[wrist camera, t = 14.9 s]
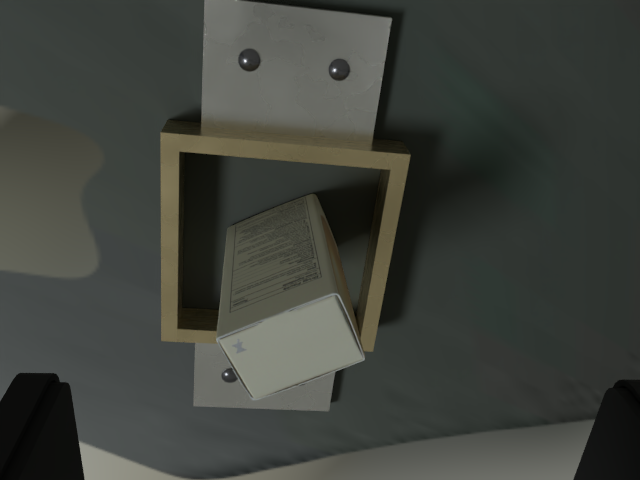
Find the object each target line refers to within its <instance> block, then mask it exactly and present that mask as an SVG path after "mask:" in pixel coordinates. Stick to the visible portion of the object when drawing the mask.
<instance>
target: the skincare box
mask: <svg viewBox="0 0 640 480" xmlns="http://www.w3.org/2000/svg"><path fill="white" fill-rule="evenodd" d="M216 341H217V343H218V344H219V346H220V348H221V350H222V352H223V353H224V355H225V357H226V358H227V360H228V362H229V364H230V366H231V367H232V369H233V371H234V373H235V374H236V376H237V378H238V379H239V381H240V383H241V384H242V386H243V387H244V389H245V390H246V391H247V393H248V395H249V396H250V398H251V399H252V400H254V401H255V400H259V399H262V398H265V397H268V396H271V395H274V394H277V393H280V392H283V391H286V390H289V389H291V388H294V387H297V386H299V385H302V384H305V383H308V382H310V381H313V380H315V379H318V378H321V377H323V376H326V375H328V374H331V373H334V372H336V371H339V370H341V369H343V368H346V367H349V366H351V365H353V364H356V363H358V362H361V361H364V360H365V354H364V350H363V347H362V343H361V339H360V335H359V331H358V327H357V323H356V319H355V315H354V311H353V307H352V303H351V299H350V295H349V291H348V288H347V284H346V280H345V276H344V272H343V268H342V264H341V260H340V256H339V252H338V248H337V245H336V242H335V239H334V237H333V234H332V232H331V229H330V227H329V224H328V222H327V219H326V217H325V214H324V212H323V209H322V207H321V205H320V203H319V200H318V198H317V196H316V195H315V194H309V195H307V196H304V197H301V198H298V199H296V200H293V201H290V202H288V203H285V204H283V205H280V206H278V207H275V208H273V209H270V210H268V211H265V212H263V213H260V214H258V215H256V216H253V217H251V218H248V219H246V220H244V221H242V222H239V223H237V224H235V225H232V226H230V227H228V229H227V239H226V248H225V258H224V268H223V278H222V287H221V297H220V307H219V316H218V326H217V335H216Z"/></svg>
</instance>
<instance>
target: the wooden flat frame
mask: <svg viewBox="0 0 640 480" xmlns="http://www.w3.org/2000/svg"><path fill="white" fill-rule="evenodd" d="M391 21H392V18H391V17H390V16H382V15H374V14H365V13H356V12H348V11H339V10H331V9H322V8H314V7H305V6H296V5H288V4H279V3H271V2H262V1H253V0H205V5H204V42H203V79H202V115H201V123H198V122H188V121H177V120H167V122H166V124H165V126H164V127H163V129H162V131H161V341H171V342H191V343H195V371H194V406H204V407H231V408H257V409H283V410H309V411H329V408H330V401H331V395H332V389H333V383H334V376H335V372H334V373H331V374H328V375H326V376H323V377H321V378H318V379H315V380H313V381H310V382H308V383H305V384H302V385H299V386H297V387H294V388H291V389H289V390H286V391H283V392H280V393H277V394H274V395H271V396H268V397H265V398H262V399H259V400H255V401H254V400H252V399H251V398H250V396H249V395H248V393H247V391H246V390H245V389H244V387H243V386H242V384H241V383H240V381H239V379H238V378H237V376H236V374H235V373H234V371H233V369H232V367H231V366H230V364H229V362H228V360H227V358H226V357H225V355H224V353H223V352H222V350H221V348H220V346H219V344H218V343H217V341H216V335H217V326H218V316H219V310H216V309H198V308H182V305H183V238H184V172H185V152H191V153H202V154H214V155H225V156H237V157H249V158H260V159H272V160H283V161H295V162H307V163H318V164H330V165H341V166H353V167H365V168H376V169H381V173H380V179H379V185H378V191H377V197H376V203H375V209H374V214H373V220H372V226H371V232H370V238H369V244H368V249H367V255H366V261H365V267H364V273H363V279H362V284H361V290H360V296H359V302H358V308H357V314H356V317H355V319H356V323H357V327H358V331H359V335H360V339H361V343H362V347H363V350H364V351H371V352H373V348H374V343H375V338H376V333H377V328H378V322H379V317H380V312H381V307H382V302H383V296H384V291H385V286H386V281H387V276H388V270H389V265H390V260H391V255H392V250H393V244H394V239H395V234H396V229H397V224H398V218H399V213H400V208H401V203H402V198H403V193H404V187H405V182H406V177H407V172H408V167H409V161H410V156H411V154H410V153H409V151H408V150H407V148H406V146H405V145H404V143H403V142H402V141H394V140H383V139H373V133H374V127H375V121H376V115H377V109H378V102H379V96H380V90H381V84H382V77H383V71H384V65H385V59H386V52H387V46H388V40H389V34H390V28H391Z"/></svg>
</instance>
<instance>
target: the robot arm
mask: <svg viewBox="0 0 640 480" xmlns="http://www.w3.org/2000/svg"><path fill="white" fill-rule="evenodd" d="M0 480H84V473H83V467H82V461H81V454H80V447H79V441H78V434H77V428H76V421H75V415H74V408H73V402H72V395H71V389H70V385H69V384H68V383H66V382H60V381H59V377H58V376H57V374H54V373H19V374H18V375H16V377H15V378H14V379H13V381H12V383H11V384H10V386H9V388H8V389H7V391H6V393H5V395H4V396H3V398H2V400H1V401H0ZM574 480H640V380H619V381H617V382H616V383H615V385H614V386H613V388H609V389H608V390H607V391H606V393H605V395H604V397H603V400H602V403H601V406H600V408H599V411H598V414H597V417H596V419H595V422H594V425H593V428H592V431H591V433H590V436H589V439H588V441H587V444H586V447H585V450H584V452H583V455H582V458H581V461H580V463H579V466H578V469H577V472H576V474H575V477H574Z"/></svg>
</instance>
